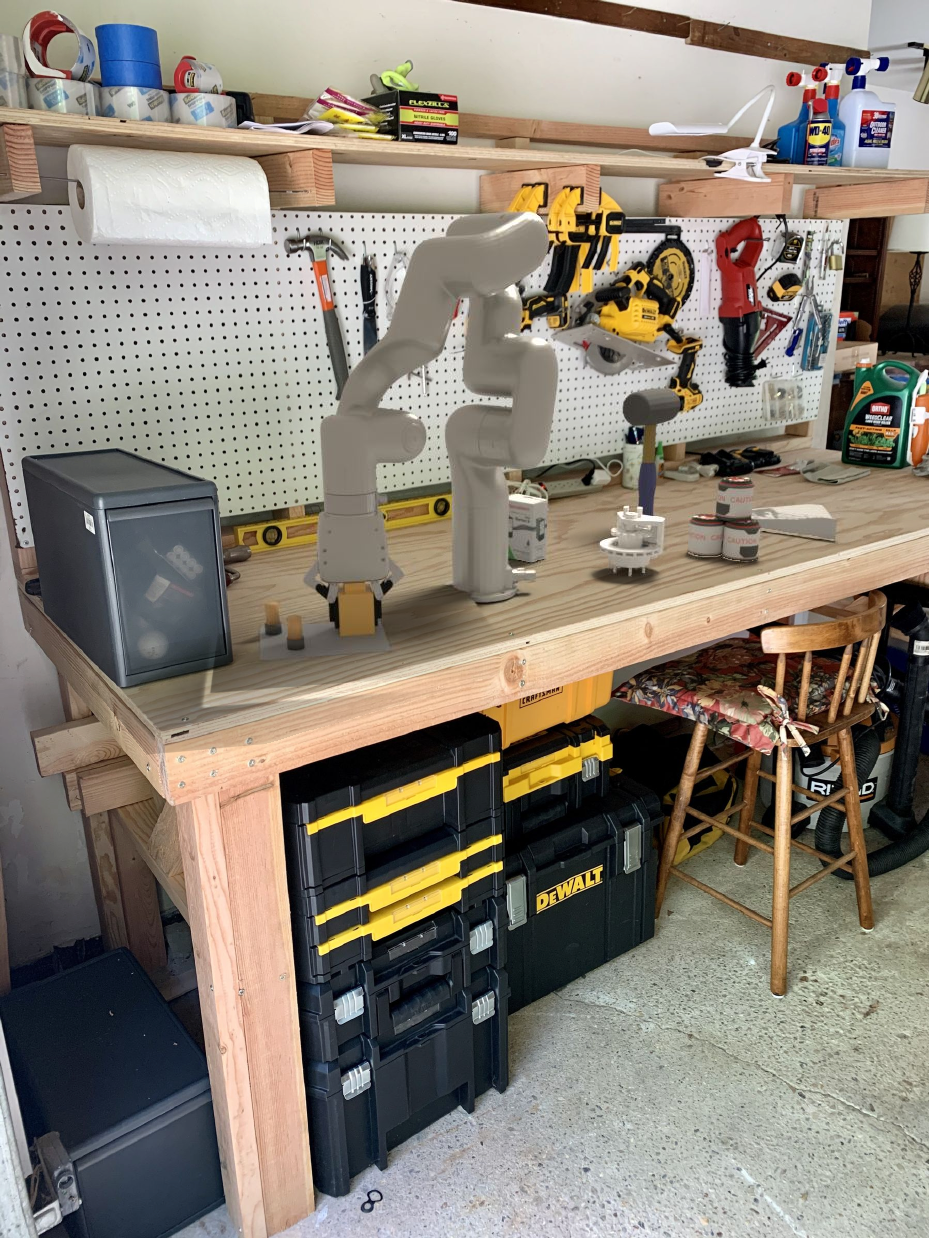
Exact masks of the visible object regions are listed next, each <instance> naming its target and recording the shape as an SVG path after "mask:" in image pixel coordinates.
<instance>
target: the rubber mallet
mask: <svg viewBox="0 0 929 1238" xmlns="http://www.w3.org/2000/svg"><path fill="white" fill-rule="evenodd" d="M680 409H681V400H680V397H679V395H678V393H676V391H674V390H673V389H671V388H666V387H665V388H663V387H661V388H658V387H657V388H646V389H642V390H639V391H634V392H631V393H630V394H628V395H627V397H625V399H624V401H623V403H622V415H623V418H624V419H625V420H626V422H627V423H629V424H630V425H632V426H635V427H641V426H642V427H643V426H644V428H643V442H642V459H641V464H640V466H639V467H640V468H639V474H638V483H637V488H638V506H637V508H638V507H643V510H642V515H647V516H654V508H655V507H654V506H655V505H654V504H655V494H656V488H657V465H656V462H655V459H656V458H655V457H656V455H655V454H656V438H657V431H656V430H657V425H659V424H660V425H661V424H663V423H666V422H669V421H672V420H674V419H675V418H676V417H677V416H678V414H679V412H680Z"/></svg>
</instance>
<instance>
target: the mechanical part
mask: <svg viewBox="0 0 929 1238" xmlns="http://www.w3.org/2000/svg"><path fill="white" fill-rule="evenodd" d="M622 510H623V511H619V512H616V527H612V528H611V529H610V534H611V535H612V536H613V537H610V538H606V539H603V540H601V541H600V542H599V552H601V553H602V554H604V555H606V556H608V563H609V564H610V565H612V566H613V571H612V573H613V572H616V573H617V567H620V568H628V576H629V575H630V576H631V575H633V573H632V572H633V569H635V568H639V569H640V568H641V574H642V573H645V574H646V567H647V566H649V564H650V562H651V561H650V560H653V559H657V557H658V556H660V555H663V552H664V541H665V523H666V518H664V517H662V516H656V515H655V516H654V515H653V516H647V515H642V510H643V507H638V506H637V508H636V512H632V511H630V506H629V505H625V506H623V509H622ZM629 511H630V512H629ZM631 577H632V576H631Z"/></svg>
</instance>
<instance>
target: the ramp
mask: <svg viewBox="0 0 929 1238" xmlns="http://www.w3.org/2000/svg"><path fill="white" fill-rule="evenodd" d="M751 518H752V519H756V520H757V521H758V523H759V524H760V525H761V528H765V529H772V530H778V531H783V532H789V533H798V534H805V535H812V536H818V537H824V538H827V539H835V540H836V531H837V525H838V524H837V521H838V519H837V518H833V517H832V516H831V514H830V513H829V512H828V510H827V509H826V508H825V507H824V506H823V505H822V504H815V503H814V504H810V503H809V504H807V503H806V504H805V503H804V504H796V505H795V504H794V505H784V506H773V507H769V506H768V507H760V508H759V507H758V508H752V516H751Z"/></svg>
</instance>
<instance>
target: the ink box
mask: <svg viewBox="0 0 929 1238" xmlns="http://www.w3.org/2000/svg"><path fill="white" fill-rule="evenodd" d="M548 510H549V500H547V498H541V497H537V496H531V495H527V494H526V495H525V494H521V493H514V494H509V532H508V559H510V558H512V559H511V560H514V559H517V560H516V561H518V560H522V561H521V562H523V561H527V562H535V561H537V560H540V559H543V558H545V557H546V558H547V541H548V512H549V511H548ZM527 562H526V563H527ZM535 563H536V562H535Z"/></svg>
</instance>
